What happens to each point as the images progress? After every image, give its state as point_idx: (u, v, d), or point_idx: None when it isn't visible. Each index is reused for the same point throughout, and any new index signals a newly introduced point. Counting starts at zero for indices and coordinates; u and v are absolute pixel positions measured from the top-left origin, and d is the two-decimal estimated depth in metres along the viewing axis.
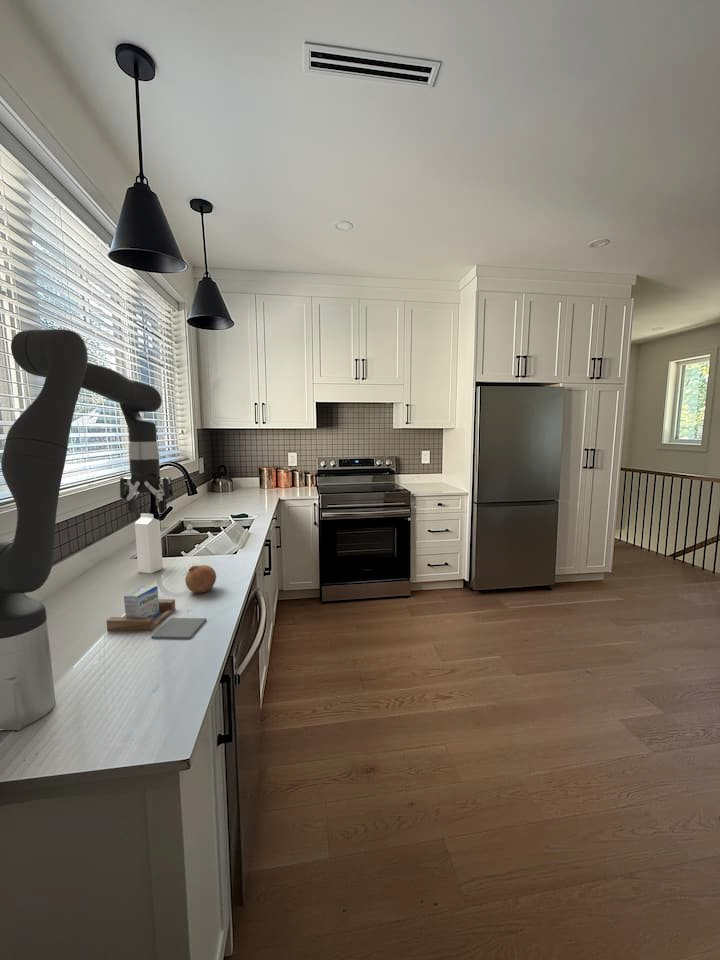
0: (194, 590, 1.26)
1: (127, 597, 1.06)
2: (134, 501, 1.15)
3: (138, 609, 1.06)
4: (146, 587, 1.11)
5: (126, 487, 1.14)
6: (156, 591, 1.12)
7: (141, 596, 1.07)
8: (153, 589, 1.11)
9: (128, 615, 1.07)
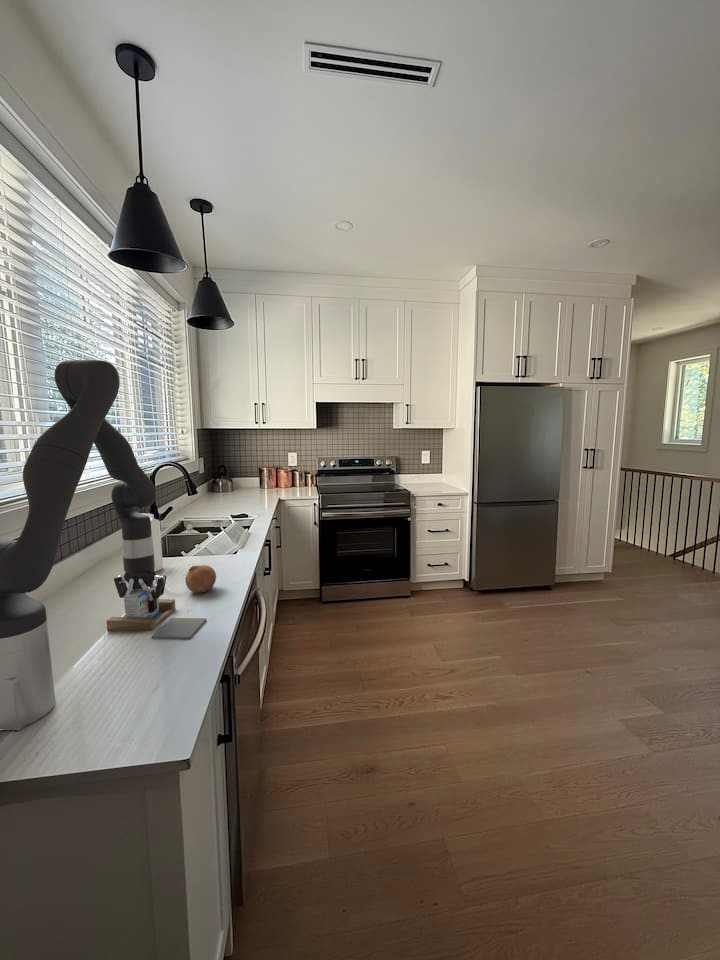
0: (194, 590, 1.26)
1: (127, 597, 1.06)
2: None
3: (138, 609, 1.06)
4: None
5: (122, 585, 1.09)
6: None
7: (141, 596, 1.07)
8: None
9: (128, 615, 1.07)
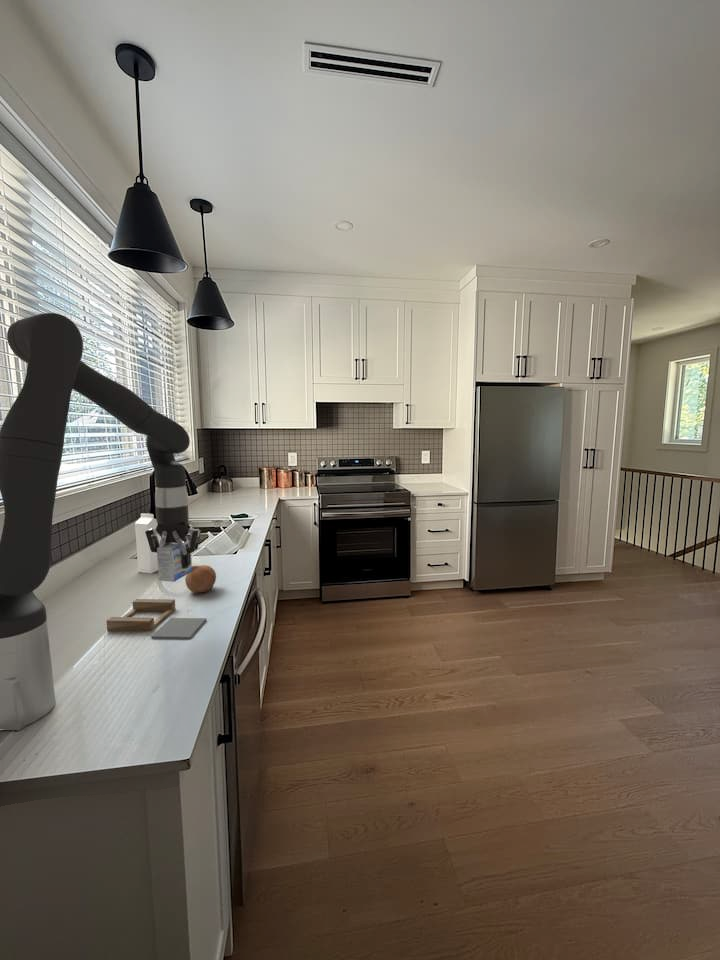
0: (194, 590, 1.26)
1: (160, 550, 0.99)
2: None
3: (172, 563, 0.99)
4: None
5: (154, 539, 1.02)
6: None
7: (175, 549, 1.00)
8: None
9: (161, 569, 1.00)
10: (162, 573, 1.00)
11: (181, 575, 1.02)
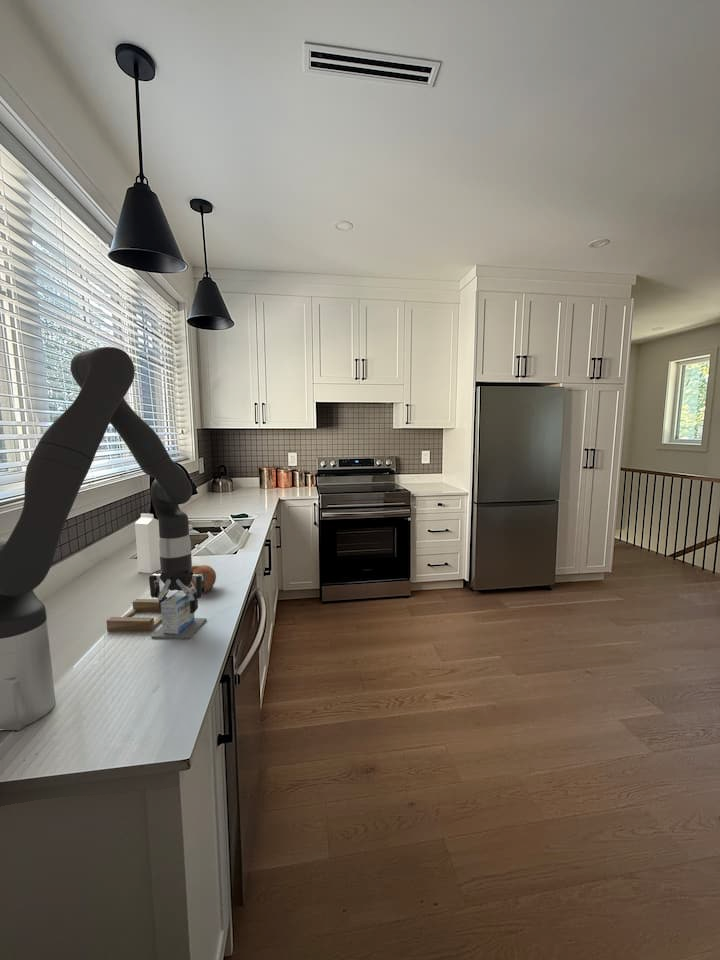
0: None
1: (164, 603, 1.01)
2: None
3: (176, 616, 1.01)
4: (181, 593, 1.06)
5: (156, 584, 1.04)
6: None
7: (179, 602, 1.01)
8: None
9: (165, 622, 1.01)
10: (166, 626, 1.01)
11: (184, 626, 1.04)
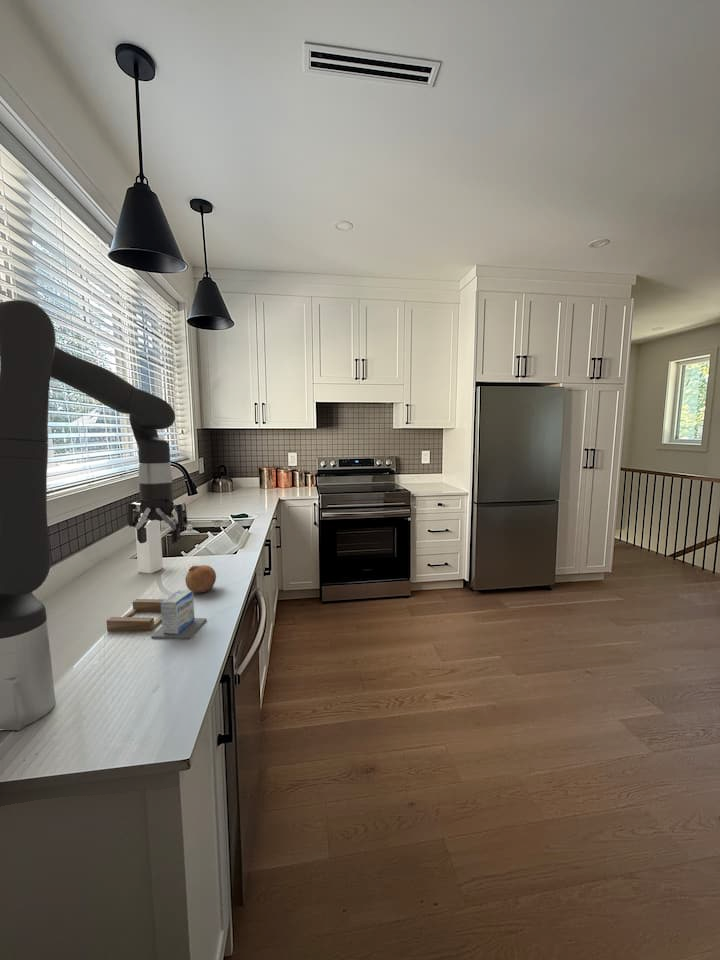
0: (194, 590, 1.26)
1: (164, 603, 1.01)
2: (144, 529, 1.02)
3: (176, 616, 1.01)
4: (181, 593, 1.06)
5: (135, 514, 1.01)
6: (192, 596, 1.07)
7: (179, 602, 1.01)
8: (189, 594, 1.06)
9: (165, 622, 1.01)
10: (166, 626, 1.01)
11: (184, 626, 1.04)
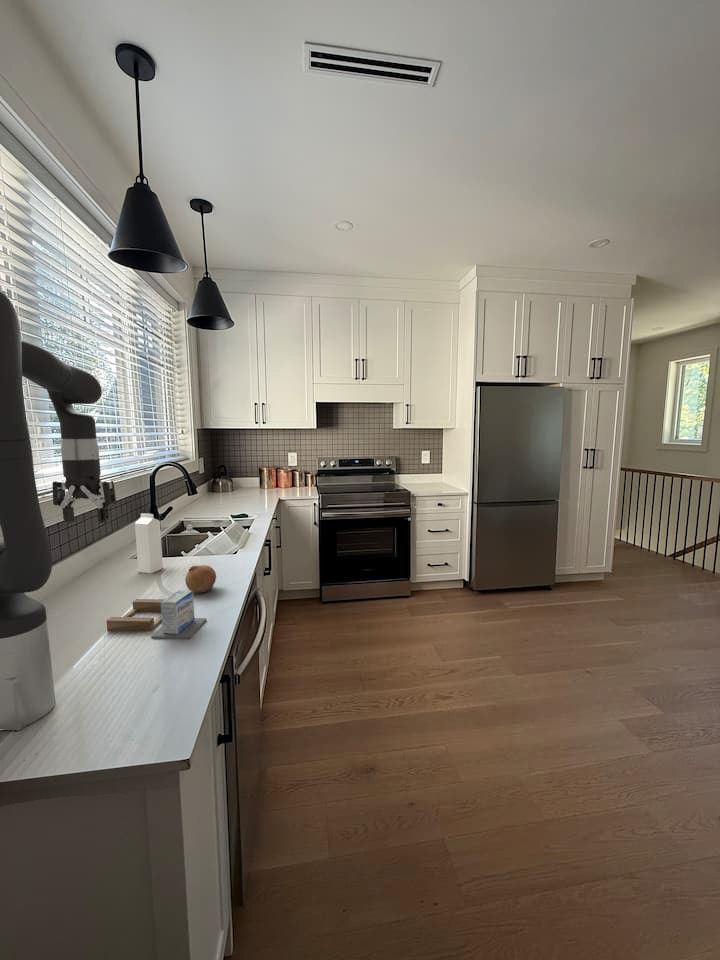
0: (194, 590, 1.26)
1: (164, 603, 1.01)
2: (70, 508, 0.98)
3: (176, 616, 1.01)
4: (181, 593, 1.06)
5: (60, 492, 0.97)
6: (192, 596, 1.07)
7: (179, 602, 1.01)
8: (189, 594, 1.06)
9: (165, 622, 1.01)
10: (166, 626, 1.01)
11: (184, 626, 1.04)
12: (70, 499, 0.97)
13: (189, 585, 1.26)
